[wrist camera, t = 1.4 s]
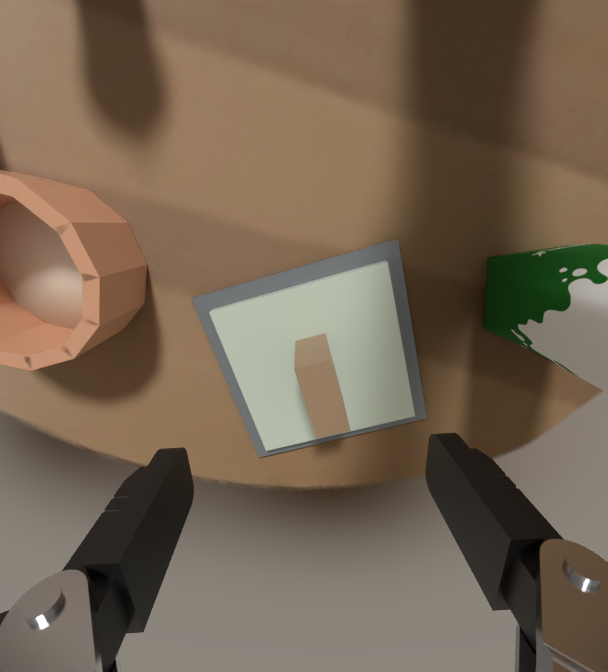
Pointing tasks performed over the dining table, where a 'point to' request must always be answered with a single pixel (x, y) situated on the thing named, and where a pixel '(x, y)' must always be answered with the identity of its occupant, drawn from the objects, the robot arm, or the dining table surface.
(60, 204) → the bowl
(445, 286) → the dining table surface
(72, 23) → the dining table surface
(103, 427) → the dining table surface
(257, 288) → the mat
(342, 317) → the lid
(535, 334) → the milk carton
